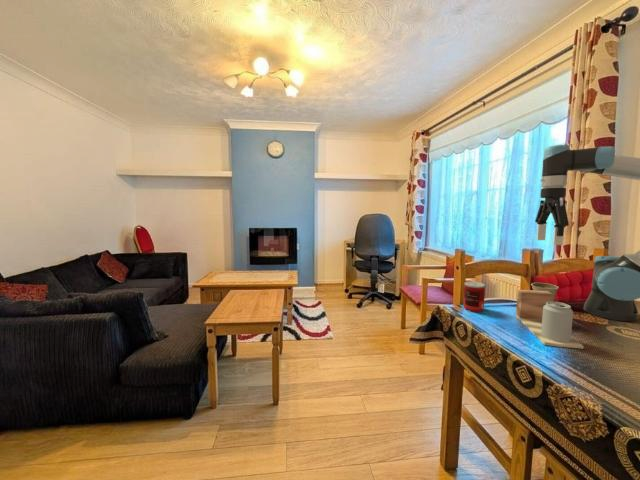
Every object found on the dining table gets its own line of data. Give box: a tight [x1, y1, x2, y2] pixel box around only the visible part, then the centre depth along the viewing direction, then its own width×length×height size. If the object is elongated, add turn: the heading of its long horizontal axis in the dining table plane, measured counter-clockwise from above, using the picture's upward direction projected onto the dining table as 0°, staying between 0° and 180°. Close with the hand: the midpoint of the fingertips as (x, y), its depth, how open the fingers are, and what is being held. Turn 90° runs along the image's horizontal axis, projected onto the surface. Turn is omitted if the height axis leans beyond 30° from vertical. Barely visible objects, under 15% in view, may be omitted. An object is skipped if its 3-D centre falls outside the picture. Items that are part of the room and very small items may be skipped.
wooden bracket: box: [515, 289, 584, 350], centre depth 100 cm, size 24×10×11 cm, turn 164°
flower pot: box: [530, 282, 559, 302], centre depth 124 cm, size 9×9×9 cm
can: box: [541, 301, 574, 342], centre depth 93 cm, size 8×8×12 cm
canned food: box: [463, 281, 486, 313], centre depth 121 cm, size 8×8×11 cm
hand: (548, 242), depth 113 cm, fingers open, 13 cm apart
